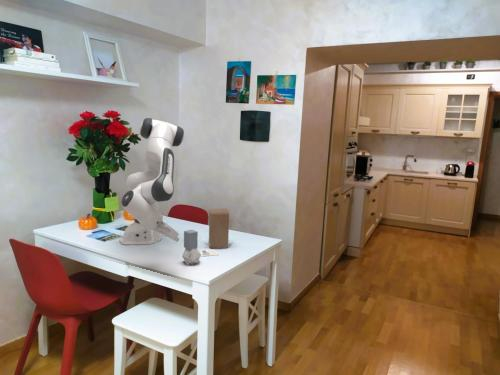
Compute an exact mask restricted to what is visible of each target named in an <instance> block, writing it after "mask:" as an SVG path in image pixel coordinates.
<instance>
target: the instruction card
mask: <svg viewBox="0 0 500 375" xmlns="http://www.w3.org/2000/svg"><path fill="white" fill-rule="evenodd" d="M199 252H200V253H201V256H200V258H201V257H202V258H203V257H209V256H210V257H212V256H219V253H218V252H217V251H216V249H215V248H212V249H204V250H199Z"/></svg>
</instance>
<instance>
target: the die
mask: <svg viewBox="0 0 500 375" xmlns="http://www.w3.org/2000/svg"><path fill="white" fill-rule="evenodd" d="M199 251H200V250H199V248H198V247H197V248H195V249H191V250H188V249H186V248H184V251H183V253H182V256H181V257H182V259H183V261H184V262H185V264H186V265H194V264H195V265H196V263H197V264H198V263H199V261H200V259H201V257H200V256H201V253H200V252H199Z"/></svg>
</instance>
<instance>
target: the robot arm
mask: <svg viewBox="0 0 500 375" xmlns="http://www.w3.org/2000/svg"><path fill="white" fill-rule="evenodd" d="M139 135H140V137H142V138H144V139H145V140H147V143H146V148H145V152H144V155H143V162H144V163H145V165H146V166H147V170H145V171H138V172H137V171H136V172H134V173H131V174H129V175H128V176H127V178H126V181H125V182H126V184H125V185H126V188H128V191H126V192H125V194H124V195H123V196H122V198H121V206H122V208H123V209H124V210H125V211H126V213H128V214H129V215H130V216H131V218H133V219H134V220H133V222H132V223H131V224H130V225H129V226H127V227H126V228H125V230H124V232H123V235H122V236H120V238H119V242H120V244H122V245H124V246H127V245H128V246H129V245H132V246H133V245H136V246H137V245H152V244H154V243H157V242H160V241H161V240H162V235H163V236H164V237H166V238H169V239H170V240H173V241H175V243H178V242H179V241H180V238H179V237H178V236H179V235H180V234H179V232H178V231H177V230H176V229H175V228H173V227H172V226H171V225H170V224H168V223H167V222H164V220H163V218H164V217H163V214H162V213H160V212H159V202H161V203H162V202H167V201H169V200H170V199H171V198H172V197H173V195H174V192H175V186H174V173H175V172H174V171H175V170H174V169H175V154H174V152H173V150H172V147H179V146H181V144H182V143H183V142H184V139H185V130H184V128H183V127H181V126H178V125H175V124H173V123H169V122H167V121H162V120H157V119H153V118H151V117H146V118H144V119H143V120H142V122H140V125H139Z"/></svg>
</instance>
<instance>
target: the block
mask: <svg viewBox="0 0 500 375" xmlns="http://www.w3.org/2000/svg"><path fill="white" fill-rule="evenodd" d="M208 214H209V215H208V216H209V218H208V219H209V222H208V227H209V228H208V244H209V248H210V249H227V248H229V230H230V228H229V227H230V213H229V211H228V209H227V208H210V209H209V212H208Z"/></svg>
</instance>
